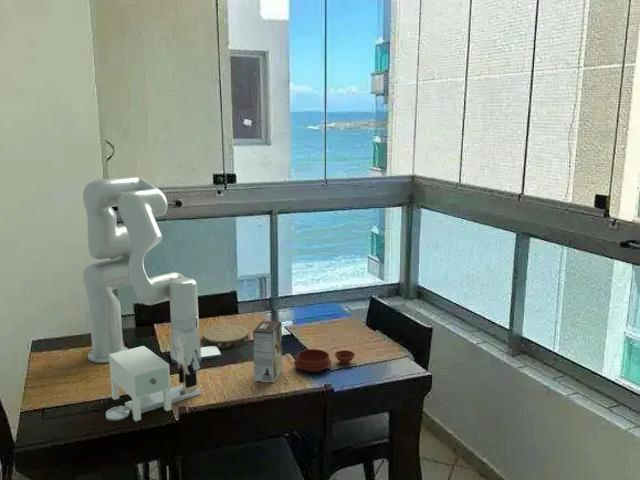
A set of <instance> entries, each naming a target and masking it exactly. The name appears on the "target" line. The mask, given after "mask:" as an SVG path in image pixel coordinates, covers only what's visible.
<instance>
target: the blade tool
mask: <svg viewBox="0 0 640 480" xmlns="http://www.w3.org/2000/svg"><path fill="white" fill-rule="evenodd" d="M191 362H192V361H191ZM190 367H193V365H191V366H189V369H190ZM182 374H183V383H182V384H181V385H178V386H177V385H176V386H174V387H170V389H171V405H172V404H175V403H177V402H180V401H184V400H187V399H190V398H192V397H196V396H199V395H201V389H200V388H199V387H198V384H197V385H195V386H192V387H189V388H186V386H185V374H186V367H185V366H183V365H182ZM196 380H197V381H198V372H197V373H196ZM124 406H126V407H128V408H129V409H130V415H132V416H133V408H132V400H129V401H126V402H124ZM162 407H163V408H164V401H163V391H162V392H158V393H155V394H152V395H149V396H145V397H142V398H140V409H141V414H145V413H146V412H150V411H153V410H154V411H155V410H157V409H160V408H162Z"/></svg>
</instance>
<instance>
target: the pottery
mask: <svg viewBox="0 0 640 480" xmlns="http://www.w3.org/2000/svg"><path fill="white" fill-rule="evenodd" d="M334 356H335V358H336V359H337V360H338V362H339V364H340V365H343V366H344V365H345V366H346V365H349V364H350V362H351V361H352V360H353V359H354V358H355V356H356V354H355V352H353V351H351V350H338V351H336V352H335V353H334ZM332 363H333V362H332V360H331V359H330V355H329V353H328V352H327V351H326V350H322V349H316V348H312V349H311V348H309V349H303V350H301V351H299V352H298V353H297V354H296V359H295V360H294V362H293V365H294V366H295V367H296V368H298V369H300V370H304V371H306V372H307V373H317V372H321V371H323V370H326V369H328V368H330V367H331V366H332Z"/></svg>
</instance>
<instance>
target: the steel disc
mask: <svg viewBox="0 0 640 480" xmlns="http://www.w3.org/2000/svg"><path fill="white" fill-rule="evenodd" d="M130 415H131V413H130V409H129V408H128V407H126V406H125V405H118V406H114V407H110V408H108V410H106V412H105V418H106V420H107V421H111V422H118V421H123V420H125V419H127V418H129V416H130Z"/></svg>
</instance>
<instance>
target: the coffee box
mask: <svg viewBox="0 0 640 480" xmlns="http://www.w3.org/2000/svg"><path fill="white" fill-rule="evenodd" d="M282 331H283V329H282V321H269V320H268V321H266V320H262V321H261V322H260V323H259V324H257V326H256V327H255V328H254V330H253V332H252V333H253V336H252V337H253V366H254V367H253V370H254V371H253V372H254V382H257V381H261V382H260V383H268V382H273V383H272V384H274V383H275V382H277V379H278V377H280V374H281V373H282V372H283V340H282V339H283V337H282Z"/></svg>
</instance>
